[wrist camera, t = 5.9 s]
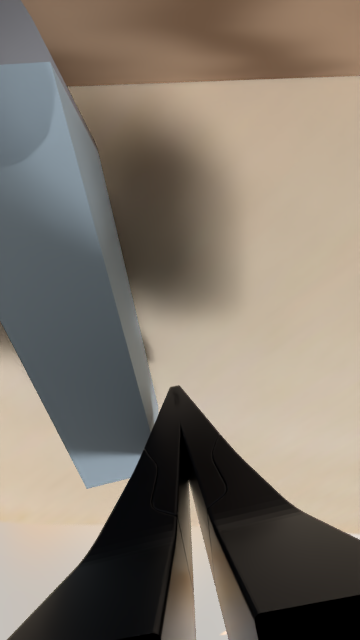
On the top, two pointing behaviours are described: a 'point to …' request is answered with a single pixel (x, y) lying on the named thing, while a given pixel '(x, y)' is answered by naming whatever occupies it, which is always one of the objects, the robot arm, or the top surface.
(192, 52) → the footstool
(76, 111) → the bar
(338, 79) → the top surface
